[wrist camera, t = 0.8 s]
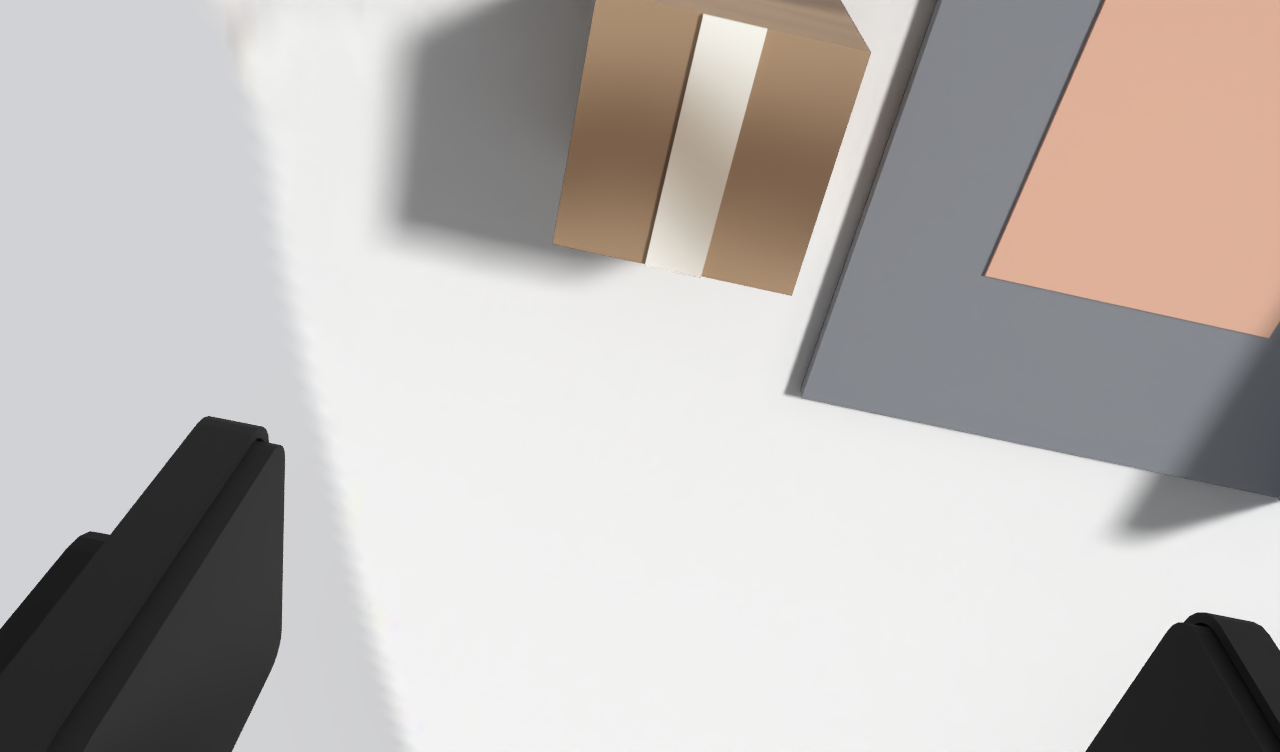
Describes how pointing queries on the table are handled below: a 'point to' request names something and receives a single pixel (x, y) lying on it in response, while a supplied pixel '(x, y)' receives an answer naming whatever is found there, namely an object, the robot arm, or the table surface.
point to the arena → (1078, 238)
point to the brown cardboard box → (709, 134)
